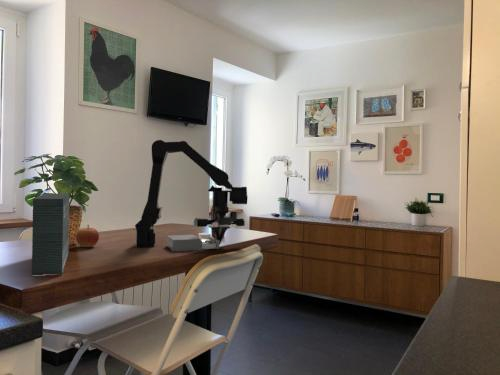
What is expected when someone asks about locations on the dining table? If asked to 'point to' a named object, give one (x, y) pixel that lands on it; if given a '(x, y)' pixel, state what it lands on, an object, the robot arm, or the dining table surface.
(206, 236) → the riser
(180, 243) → the block
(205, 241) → the disc
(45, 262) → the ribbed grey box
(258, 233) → the dining table surface
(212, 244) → the tray
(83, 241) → the apple
